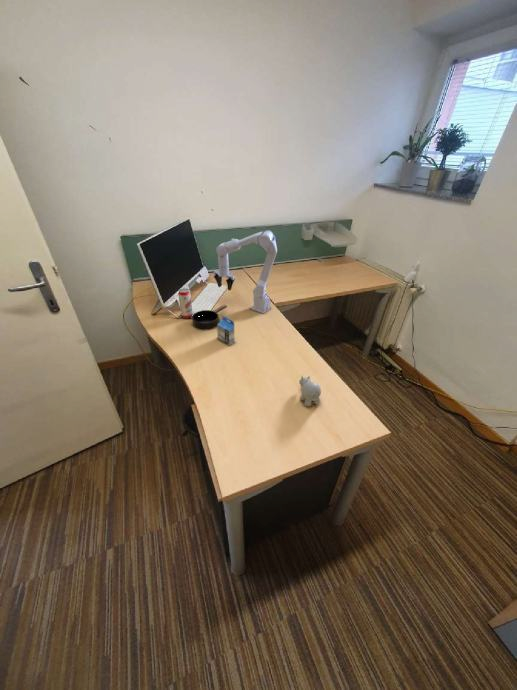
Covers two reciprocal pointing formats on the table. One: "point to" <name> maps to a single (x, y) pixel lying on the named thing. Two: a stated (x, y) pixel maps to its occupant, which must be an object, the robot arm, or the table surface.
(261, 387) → the table surface
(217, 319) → the pan
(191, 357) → the table surface
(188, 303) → the beer can
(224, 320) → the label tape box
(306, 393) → the chubby cartoon animal
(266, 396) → the table surface
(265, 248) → the robot arm
